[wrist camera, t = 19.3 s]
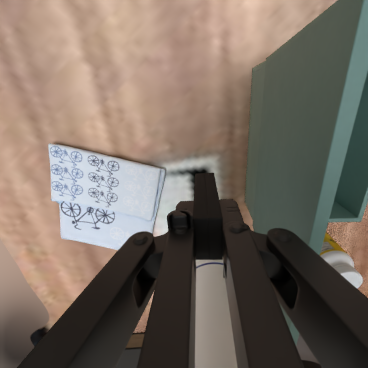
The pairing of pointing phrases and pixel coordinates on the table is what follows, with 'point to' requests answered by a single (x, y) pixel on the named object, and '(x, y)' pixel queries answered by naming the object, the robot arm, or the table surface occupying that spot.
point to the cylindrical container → (212, 318)
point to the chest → (352, 168)
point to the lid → (309, 123)
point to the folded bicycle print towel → (103, 195)
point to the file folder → (131, 352)
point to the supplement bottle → (340, 261)
